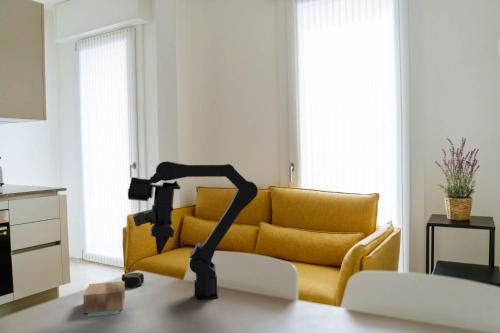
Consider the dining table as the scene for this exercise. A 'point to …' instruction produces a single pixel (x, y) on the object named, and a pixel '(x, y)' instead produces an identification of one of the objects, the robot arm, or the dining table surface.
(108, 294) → the light brown wooden block
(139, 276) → the tape measure
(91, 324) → the dining table surface
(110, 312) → the mat
